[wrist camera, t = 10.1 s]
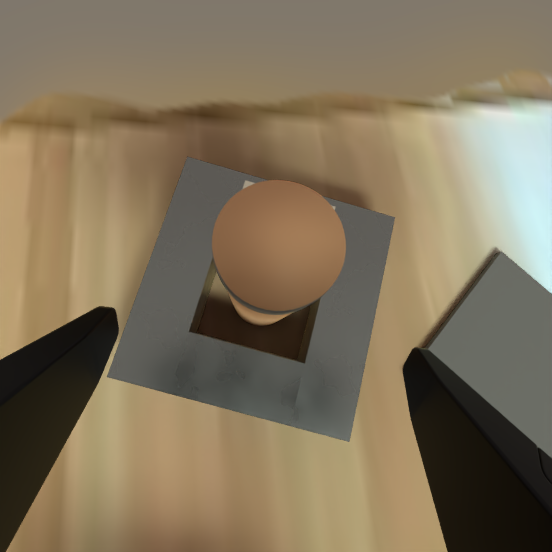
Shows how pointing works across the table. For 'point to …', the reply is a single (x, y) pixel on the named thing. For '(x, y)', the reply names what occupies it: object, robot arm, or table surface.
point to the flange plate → (238, 358)
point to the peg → (277, 249)
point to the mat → (504, 346)
